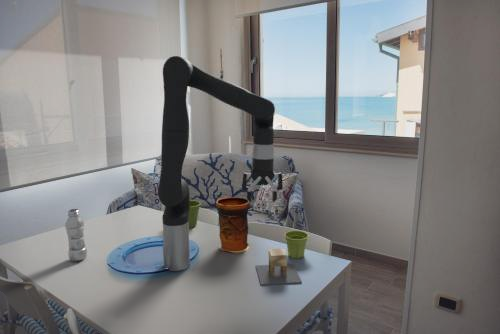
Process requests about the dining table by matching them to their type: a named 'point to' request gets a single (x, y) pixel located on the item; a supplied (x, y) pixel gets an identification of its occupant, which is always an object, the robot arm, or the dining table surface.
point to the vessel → (233, 223)
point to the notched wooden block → (277, 261)
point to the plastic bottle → (75, 236)
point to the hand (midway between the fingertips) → (261, 201)
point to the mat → (277, 275)
